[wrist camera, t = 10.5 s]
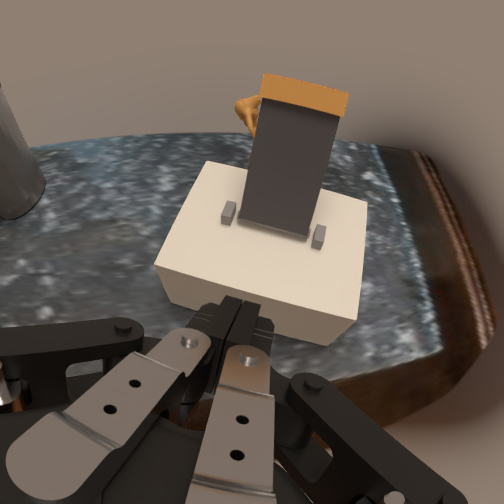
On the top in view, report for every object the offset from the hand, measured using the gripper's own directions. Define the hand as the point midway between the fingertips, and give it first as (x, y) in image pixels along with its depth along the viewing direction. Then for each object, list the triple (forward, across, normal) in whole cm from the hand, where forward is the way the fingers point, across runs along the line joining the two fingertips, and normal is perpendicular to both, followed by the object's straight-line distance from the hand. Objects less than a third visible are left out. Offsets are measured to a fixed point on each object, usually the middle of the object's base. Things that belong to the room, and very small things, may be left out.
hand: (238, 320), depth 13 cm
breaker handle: (+14, 0, -2) cm, 14 cm away
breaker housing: (+20, 0, +4) cm, 20 cm away
